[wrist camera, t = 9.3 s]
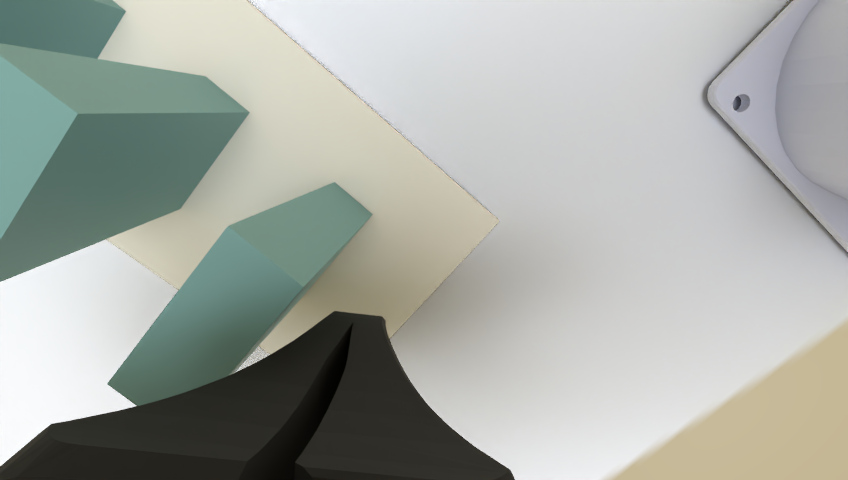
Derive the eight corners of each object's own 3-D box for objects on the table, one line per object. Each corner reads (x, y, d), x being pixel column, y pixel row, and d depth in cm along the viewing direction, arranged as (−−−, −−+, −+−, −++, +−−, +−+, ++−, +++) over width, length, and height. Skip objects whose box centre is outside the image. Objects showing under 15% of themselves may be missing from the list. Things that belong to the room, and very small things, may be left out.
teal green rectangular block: (372, 214, 14) (303, 286, 7) (299, 300, 15) (177, 435, 8) (334, 182, 14) (227, 226, 7) (262, 270, 15) (107, 383, 8)
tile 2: (249, 112, 13) (77, 113, 7) (180, 209, 14) (-35, 295, 8) (205, 76, 13) (-21, 40, 6) (137, 177, 14) (-126, 237, 7)
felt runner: (497, 219, 15) (499, 221, 14) (335, 393, 17) (333, 398, 16) (-338, -511, 10) (-361, -529, 10) (-432, -147, 12) (-454, -153, 12)
